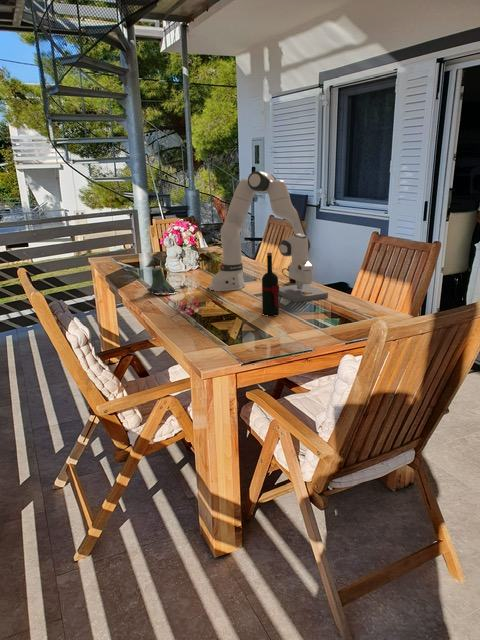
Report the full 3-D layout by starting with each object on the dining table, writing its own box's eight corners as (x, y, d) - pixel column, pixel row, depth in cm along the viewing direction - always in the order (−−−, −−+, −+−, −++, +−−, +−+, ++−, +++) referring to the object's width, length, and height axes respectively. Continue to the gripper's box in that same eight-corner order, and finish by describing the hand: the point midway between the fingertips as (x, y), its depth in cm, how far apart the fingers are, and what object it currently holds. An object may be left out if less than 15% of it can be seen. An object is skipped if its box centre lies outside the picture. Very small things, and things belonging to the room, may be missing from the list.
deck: (295, 302, 251) (295, 297, 250) (273, 292, 273) (273, 287, 272) (327, 297, 258) (328, 292, 257) (304, 287, 280) (304, 283, 279)
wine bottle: (271, 318, 226) (269, 255, 217) (259, 313, 234) (257, 252, 225) (284, 315, 230) (284, 253, 220) (272, 310, 238) (271, 250, 229)
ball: (303, 298, 260) (306, 298, 256) (302, 291, 259) (305, 291, 256) (308, 297, 261) (312, 297, 258) (308, 290, 260) (311, 291, 257)
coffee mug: (303, 280, 296) (303, 264, 293) (299, 284, 289) (299, 267, 286) (286, 279, 301) (285, 264, 298) (281, 282, 294) (281, 266, 291)
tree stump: (188, 292, 282) (180, 264, 273) (159, 307, 273) (150, 278, 264) (173, 285, 295) (165, 259, 287) (145, 299, 286) (135, 272, 278)
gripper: (285, 261, 268) (285, 285, 272) (303, 268, 250) (303, 293, 254) (295, 260, 270) (295, 284, 274) (314, 266, 252) (313, 292, 256)
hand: (299, 289), depth 264 cm, fingers closed
